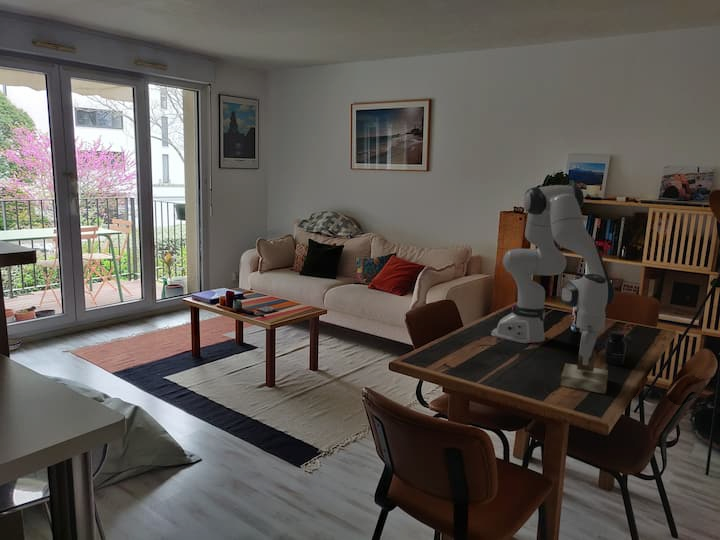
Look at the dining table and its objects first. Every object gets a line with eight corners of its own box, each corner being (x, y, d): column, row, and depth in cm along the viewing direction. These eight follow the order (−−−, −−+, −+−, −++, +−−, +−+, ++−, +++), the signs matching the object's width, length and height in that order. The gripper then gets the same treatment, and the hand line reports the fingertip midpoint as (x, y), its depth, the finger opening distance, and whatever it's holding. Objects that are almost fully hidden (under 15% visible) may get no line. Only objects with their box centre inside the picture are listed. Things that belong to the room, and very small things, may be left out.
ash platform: (560, 386, 185) (561, 375, 184) (564, 373, 198) (565, 363, 197) (605, 395, 179) (606, 383, 179) (606, 381, 192) (607, 370, 191)
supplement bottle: (615, 367, 205) (619, 336, 203) (600, 361, 211) (603, 331, 208) (627, 364, 208) (631, 334, 206) (612, 358, 214) (615, 329, 212)
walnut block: (577, 369, 186) (578, 352, 185) (578, 364, 191) (580, 348, 190) (592, 371, 184) (594, 354, 183) (594, 367, 188) (595, 350, 187)
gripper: (598, 331, 174) (593, 373, 176) (602, 317, 192) (598, 355, 194) (577, 328, 177) (572, 369, 179) (583, 314, 195) (579, 352, 197)
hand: (586, 361), depth 187 cm, fingers closed on walnut block, 5 cm apart
